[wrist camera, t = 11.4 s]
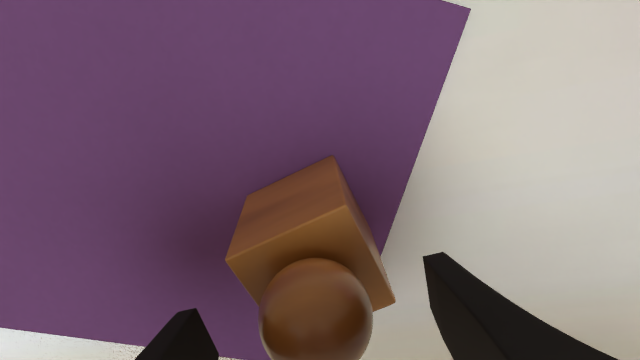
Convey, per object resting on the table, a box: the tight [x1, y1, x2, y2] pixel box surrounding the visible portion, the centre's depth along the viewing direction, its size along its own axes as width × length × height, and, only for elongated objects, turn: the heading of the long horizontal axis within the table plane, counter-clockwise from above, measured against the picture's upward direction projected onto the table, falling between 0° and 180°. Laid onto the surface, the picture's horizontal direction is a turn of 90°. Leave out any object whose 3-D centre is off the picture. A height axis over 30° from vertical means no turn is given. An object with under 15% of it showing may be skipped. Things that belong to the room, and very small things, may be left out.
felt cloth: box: [0, 0, 471, 360], centre depth 16 cm, size 20×20×1 cm
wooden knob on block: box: [225, 155, 395, 360], centre depth 13 cm, size 4×4×8 cm
